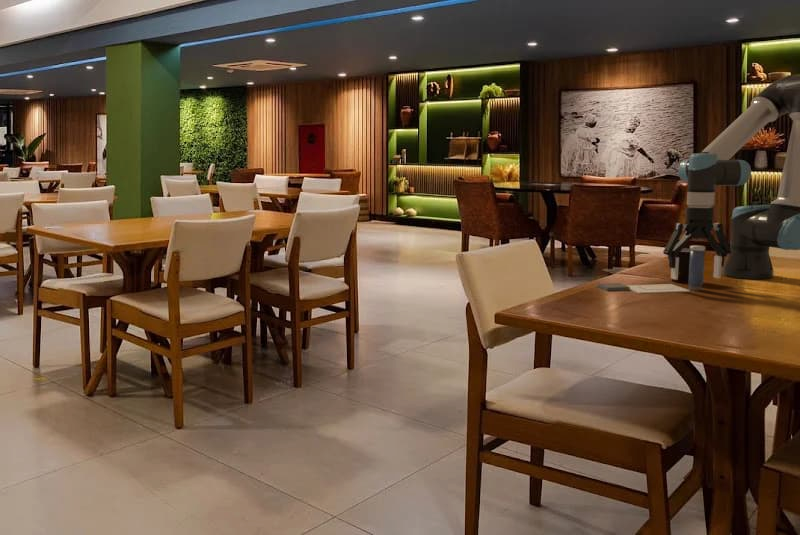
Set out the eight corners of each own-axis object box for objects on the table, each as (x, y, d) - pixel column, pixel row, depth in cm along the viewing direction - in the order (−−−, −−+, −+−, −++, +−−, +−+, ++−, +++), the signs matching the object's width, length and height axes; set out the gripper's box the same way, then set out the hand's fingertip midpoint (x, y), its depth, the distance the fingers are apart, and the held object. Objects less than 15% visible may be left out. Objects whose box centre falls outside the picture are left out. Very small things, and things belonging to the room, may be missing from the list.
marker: (698, 288, 227) (700, 245, 225) (705, 290, 223) (708, 247, 221) (684, 288, 227) (687, 245, 225) (692, 291, 223) (694, 247, 221)
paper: (671, 285, 233) (671, 283, 233) (690, 291, 222) (690, 290, 222) (622, 286, 230) (622, 285, 230) (638, 293, 220) (639, 292, 220)
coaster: (619, 286, 231) (619, 282, 231) (629, 290, 225) (629, 287, 224) (597, 286, 230) (597, 283, 230) (607, 291, 223) (607, 287, 223)
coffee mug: (699, 284, 234) (701, 252, 232) (670, 283, 236) (671, 251, 234) (692, 278, 245) (694, 247, 244) (664, 277, 247) (666, 246, 245)
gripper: (732, 205, 227) (727, 275, 230) (653, 206, 223) (650, 277, 226) (747, 207, 219) (741, 279, 223) (666, 208, 216) (662, 281, 219)
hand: (695, 278), depth 224 cm, fingers open, 13 cm apart
